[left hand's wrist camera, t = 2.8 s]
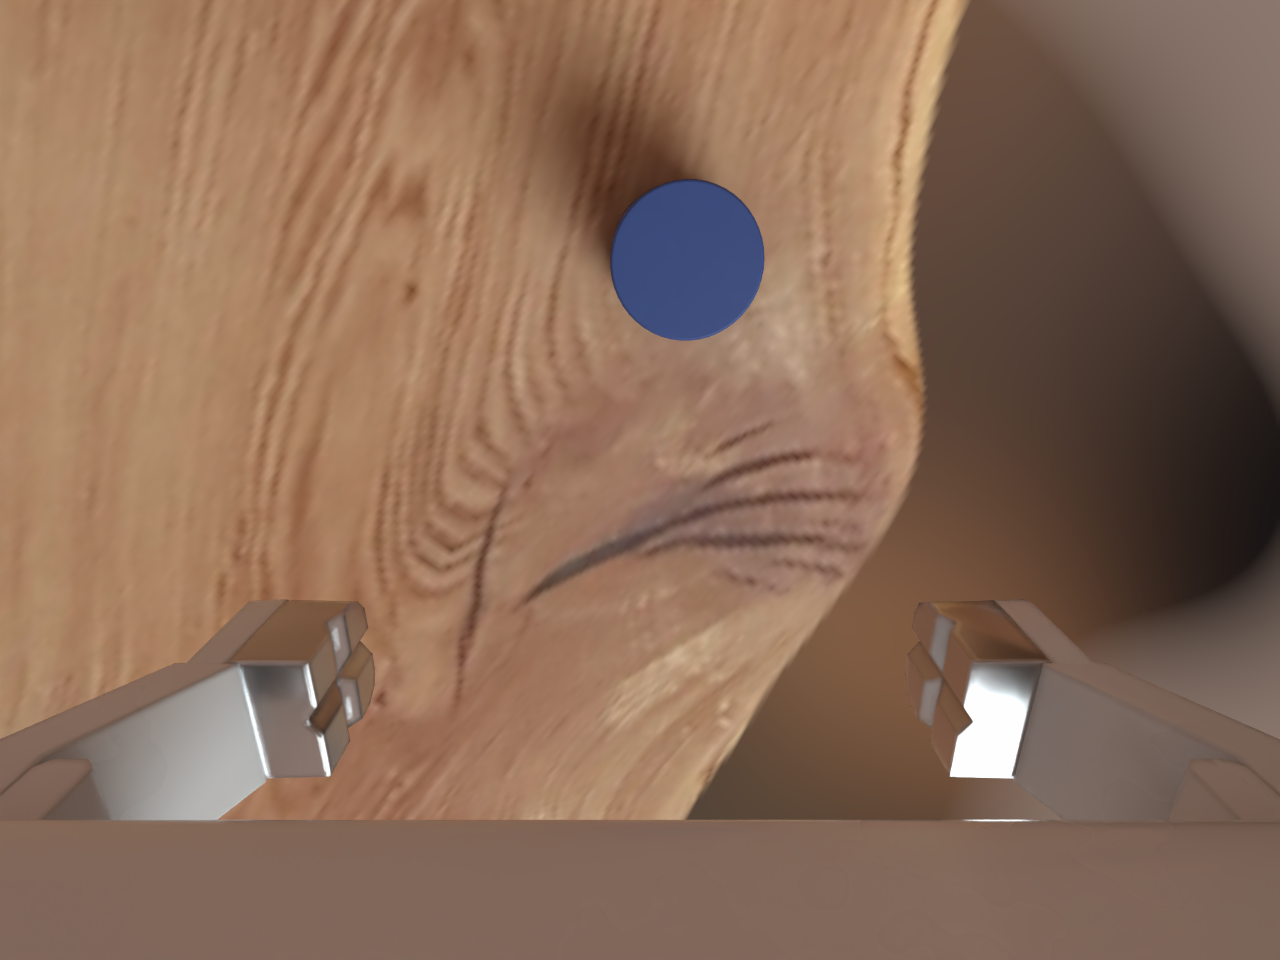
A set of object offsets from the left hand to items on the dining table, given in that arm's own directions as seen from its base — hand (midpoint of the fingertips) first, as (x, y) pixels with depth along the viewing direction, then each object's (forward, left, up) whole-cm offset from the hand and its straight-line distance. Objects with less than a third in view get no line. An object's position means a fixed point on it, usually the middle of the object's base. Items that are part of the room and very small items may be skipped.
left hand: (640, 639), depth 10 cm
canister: (+3, +4, -16) cm, 17 cm away
